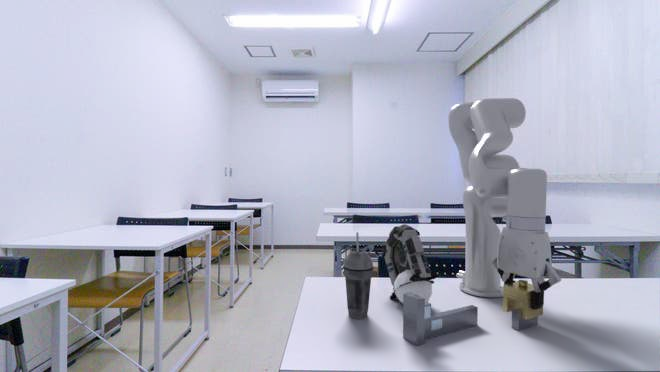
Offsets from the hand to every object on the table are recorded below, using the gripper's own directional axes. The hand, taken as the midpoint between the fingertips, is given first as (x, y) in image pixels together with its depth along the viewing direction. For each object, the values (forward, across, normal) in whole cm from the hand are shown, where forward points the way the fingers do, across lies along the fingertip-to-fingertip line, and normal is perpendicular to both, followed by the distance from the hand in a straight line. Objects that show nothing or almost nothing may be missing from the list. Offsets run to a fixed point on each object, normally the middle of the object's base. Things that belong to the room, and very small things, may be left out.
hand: (522, 302), depth 76 cm
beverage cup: (+5, -21, -31) cm, 37 cm away
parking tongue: (+5, +1, -1) cm, 5 cm away
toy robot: (+6, -24, -14) cm, 28 cm away
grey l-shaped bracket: (+5, -5, -19) cm, 20 cm away
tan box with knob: (+2, 0, 0) cm, 2 cm away
